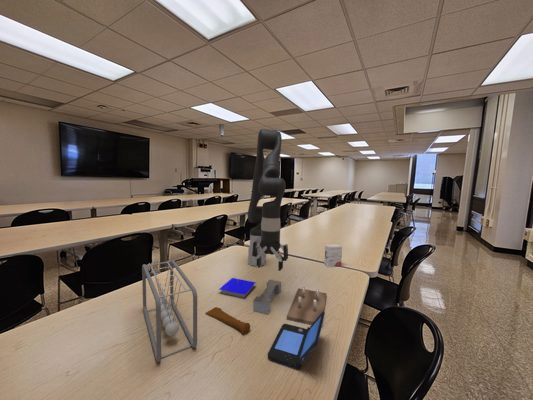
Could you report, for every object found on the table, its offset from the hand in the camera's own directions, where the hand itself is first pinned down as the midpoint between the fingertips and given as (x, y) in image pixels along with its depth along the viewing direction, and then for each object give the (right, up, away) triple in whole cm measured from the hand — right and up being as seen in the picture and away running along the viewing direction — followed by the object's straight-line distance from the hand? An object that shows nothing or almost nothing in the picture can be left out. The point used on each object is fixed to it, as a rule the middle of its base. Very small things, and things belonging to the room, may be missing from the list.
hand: (269, 268), depth 91 cm
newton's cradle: (-33, -14, -17) cm, 40 cm away
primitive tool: (-15, -15, -13) cm, 25 cm away
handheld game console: (+8, -16, -25) cm, 30 cm away
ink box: (+37, -11, +42) cm, 57 cm away
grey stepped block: (-1, -13, +1) cm, 13 cm away
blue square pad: (-14, -13, +9) cm, 21 cm away
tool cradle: (+15, -14, -3) cm, 21 cm away
